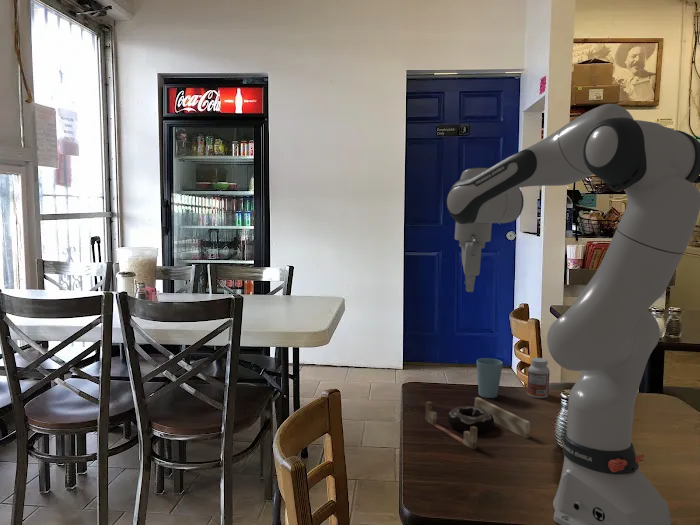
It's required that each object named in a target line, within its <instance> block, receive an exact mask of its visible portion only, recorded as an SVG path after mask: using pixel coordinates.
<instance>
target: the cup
mask: <svg viewBox="0 0 700 525" xmlns="http://www.w3.org/2000/svg"><path fill="white" fill-rule="evenodd" d="M502 370H503V361H502V360H500V359H496V358H490V357H489V358H488V357H485V358H482V357H481V358H478V359H477V360H476V373H477V386H478V388H477V389H478V396H480V397H482V398H486V399H495V398H497V397H498V394H499V388H500V382H501V376H502V375H501V374H502Z"/></svg>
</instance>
